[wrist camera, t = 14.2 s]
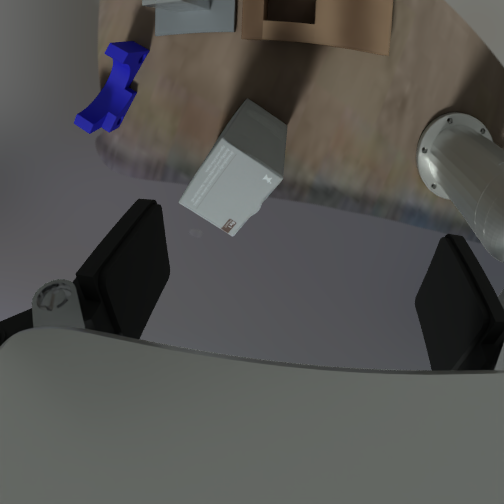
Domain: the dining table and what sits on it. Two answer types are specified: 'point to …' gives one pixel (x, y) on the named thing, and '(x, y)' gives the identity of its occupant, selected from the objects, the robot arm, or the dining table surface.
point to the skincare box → (239, 169)
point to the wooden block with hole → (326, 25)
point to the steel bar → (179, 5)
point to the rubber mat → (197, 19)
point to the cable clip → (114, 89)
